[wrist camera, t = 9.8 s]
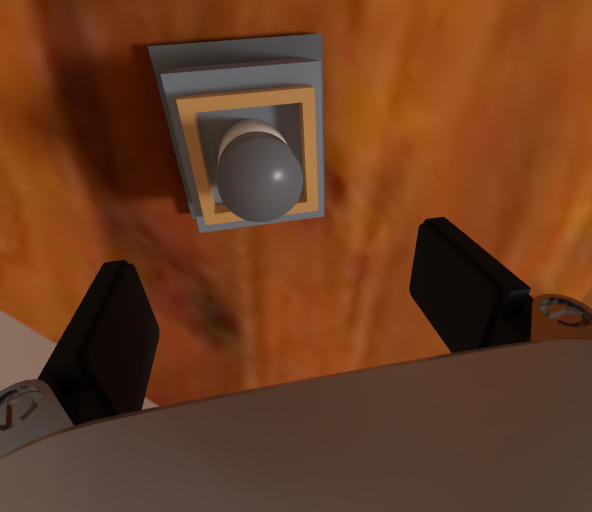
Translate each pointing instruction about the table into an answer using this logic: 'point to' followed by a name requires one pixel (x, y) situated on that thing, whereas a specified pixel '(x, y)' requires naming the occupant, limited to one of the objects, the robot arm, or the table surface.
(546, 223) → the table surface
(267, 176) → the gray and white capsule
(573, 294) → the table surface
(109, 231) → the table surface
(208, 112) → the grey square peg holder
